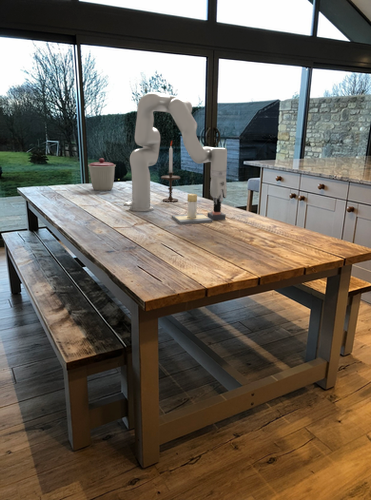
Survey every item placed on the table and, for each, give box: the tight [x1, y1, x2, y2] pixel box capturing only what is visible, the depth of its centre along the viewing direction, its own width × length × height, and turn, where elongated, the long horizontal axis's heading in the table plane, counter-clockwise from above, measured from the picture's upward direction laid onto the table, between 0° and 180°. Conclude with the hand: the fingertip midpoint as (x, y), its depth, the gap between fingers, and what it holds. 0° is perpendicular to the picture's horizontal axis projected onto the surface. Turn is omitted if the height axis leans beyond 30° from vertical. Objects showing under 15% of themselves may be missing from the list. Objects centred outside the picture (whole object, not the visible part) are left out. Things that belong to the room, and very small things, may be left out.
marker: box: [186, 193, 198, 218], centre depth 196 cm, size 5×5×11 cm
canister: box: [87, 157, 117, 192], centre depth 273 cm, size 18×18×21 cm
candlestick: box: [160, 140, 181, 203], centre depth 238 cm, size 11×11×35 cm
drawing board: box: [171, 213, 213, 225], centre depth 198 cm, size 16×14×1 cm
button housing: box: [206, 211, 227, 221], centre depth 202 cm, size 7×7×2 cm
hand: (217, 211), depth 201 cm, fingers closed
